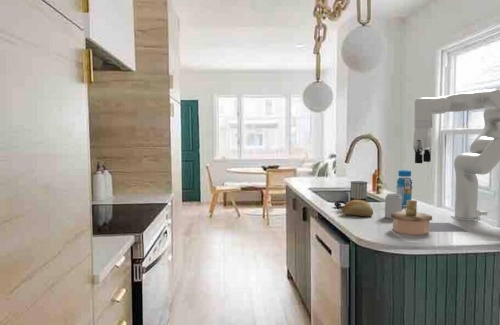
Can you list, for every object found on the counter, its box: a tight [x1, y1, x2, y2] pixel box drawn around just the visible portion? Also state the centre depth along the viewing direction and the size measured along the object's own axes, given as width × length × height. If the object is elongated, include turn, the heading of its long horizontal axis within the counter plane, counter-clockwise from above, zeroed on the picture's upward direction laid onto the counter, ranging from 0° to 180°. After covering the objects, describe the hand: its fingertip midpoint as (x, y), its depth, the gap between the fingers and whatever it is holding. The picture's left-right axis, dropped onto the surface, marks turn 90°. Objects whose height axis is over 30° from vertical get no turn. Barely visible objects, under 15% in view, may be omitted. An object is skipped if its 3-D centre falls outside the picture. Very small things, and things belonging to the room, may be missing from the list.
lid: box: [391, 199, 433, 222], centre depth 174 cm, size 16×16×7 cm
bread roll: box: [341, 199, 374, 218], centre depth 209 cm, size 10×15×8 cm, turn 75°
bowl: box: [392, 218, 430, 235], centre depth 174 cm, size 13×13×6 cm
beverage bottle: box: [396, 169, 413, 208], centre depth 238 cm, size 8×8×20 cm
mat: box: [429, 222, 469, 233], centre depth 182 cm, size 16×17×1 cm
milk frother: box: [334, 180, 368, 209], centre depth 229 cm, size 14×16×15 cm
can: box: [384, 192, 403, 220], centre depth 201 cm, size 8×8×12 cm
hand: (422, 162), depth 192 cm, fingers open, 9 cm apart
